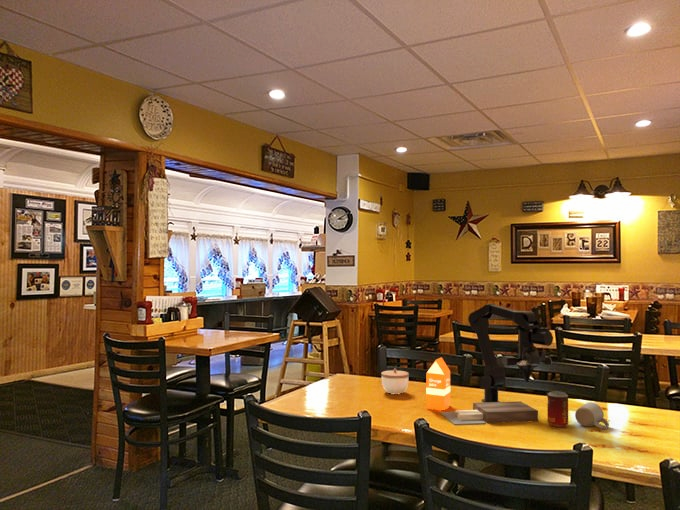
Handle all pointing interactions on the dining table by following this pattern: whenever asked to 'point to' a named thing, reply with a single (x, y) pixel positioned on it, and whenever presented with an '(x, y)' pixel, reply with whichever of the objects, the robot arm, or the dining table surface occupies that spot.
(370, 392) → the dining table surface
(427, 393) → the orange juice
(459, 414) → the number block
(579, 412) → the ceramic mug
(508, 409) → the walnut stand
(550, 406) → the soda can
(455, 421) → the rubber mat
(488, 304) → the robot arm
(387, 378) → the lidded bowl
